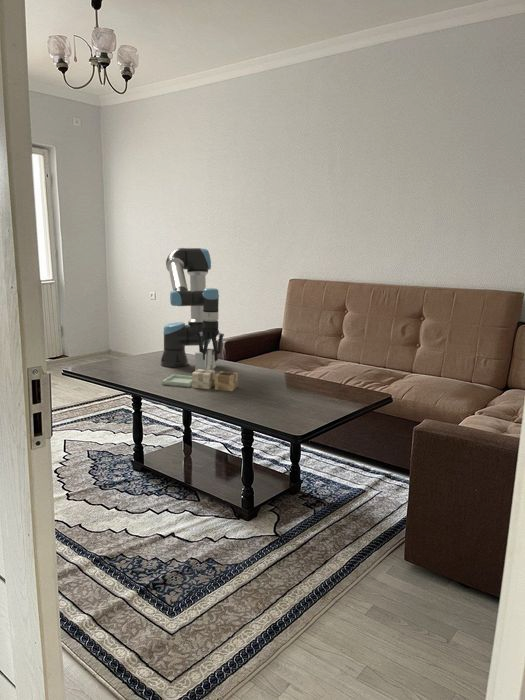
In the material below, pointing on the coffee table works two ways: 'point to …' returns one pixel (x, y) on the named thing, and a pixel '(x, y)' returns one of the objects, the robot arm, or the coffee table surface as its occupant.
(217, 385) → the oak block
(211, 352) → the rod
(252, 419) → the coffee table surface
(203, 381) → the birch block
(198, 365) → the supplement box
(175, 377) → the tray
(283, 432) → the coffee table surface
